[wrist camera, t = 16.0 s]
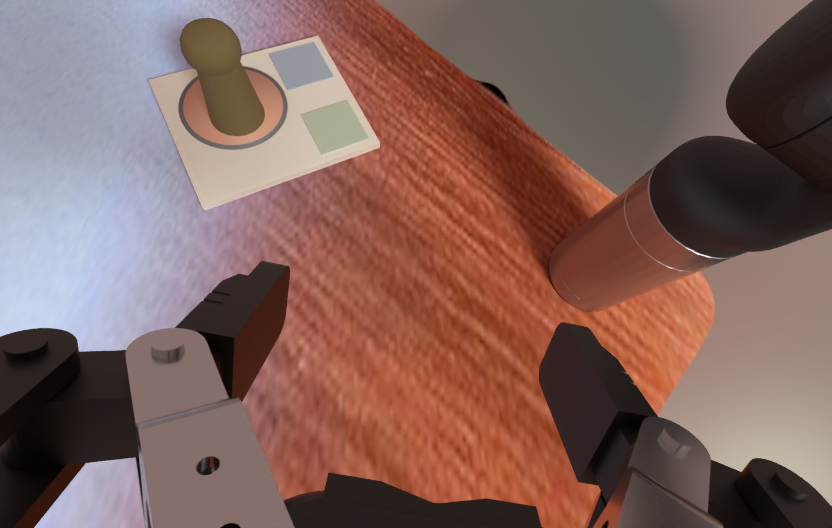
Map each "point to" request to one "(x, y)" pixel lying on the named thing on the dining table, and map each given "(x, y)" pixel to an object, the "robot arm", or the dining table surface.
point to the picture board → (267, 123)
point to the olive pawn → (222, 76)
